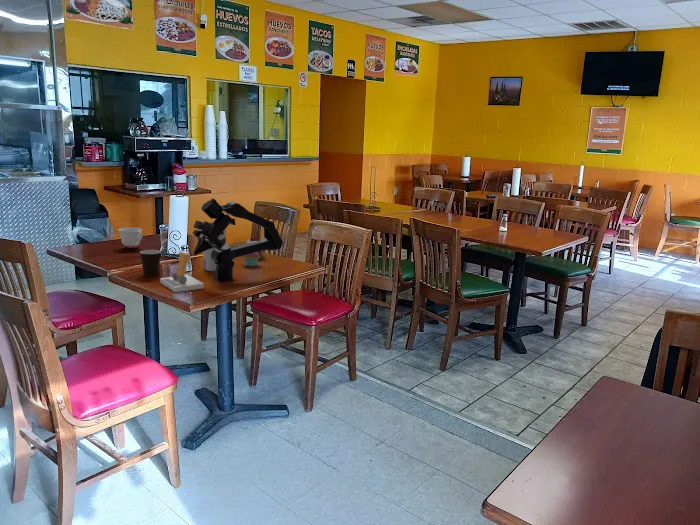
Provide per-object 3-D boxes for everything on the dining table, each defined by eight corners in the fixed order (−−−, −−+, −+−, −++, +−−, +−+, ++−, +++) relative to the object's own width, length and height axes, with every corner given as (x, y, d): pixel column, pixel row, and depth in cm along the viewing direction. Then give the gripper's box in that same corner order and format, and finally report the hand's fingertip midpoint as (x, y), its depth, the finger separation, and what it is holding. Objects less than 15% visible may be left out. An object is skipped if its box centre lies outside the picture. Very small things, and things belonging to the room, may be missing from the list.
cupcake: (261, 266, 266) (261, 242, 264) (243, 267, 263) (243, 242, 260) (257, 262, 274) (257, 238, 271) (240, 263, 271) (240, 239, 268)
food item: (244, 253, 294) (244, 235, 292) (259, 252, 297) (259, 234, 294) (249, 259, 281) (249, 239, 279) (264, 258, 284) (265, 239, 282)
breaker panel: (188, 279, 238) (187, 268, 237) (203, 288, 226) (203, 276, 225) (160, 283, 231) (160, 271, 230) (174, 292, 219) (174, 280, 218)
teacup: (132, 251, 286) (131, 232, 284) (114, 248, 293) (113, 229, 291) (151, 248, 296) (151, 229, 294) (133, 244, 303) (132, 226, 301)
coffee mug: (155, 277, 239) (154, 254, 237) (137, 275, 241) (136, 253, 239) (169, 271, 251) (168, 249, 248) (151, 269, 252) (150, 248, 250)
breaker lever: (179, 277, 230) (185, 252, 229) (184, 280, 226) (190, 255, 225) (174, 277, 228) (179, 251, 228) (178, 279, 225) (184, 254, 224)
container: (218, 272, 252) (218, 228, 248) (199, 269, 255) (198, 226, 251) (230, 267, 261) (229, 225, 257) (211, 265, 265) (211, 223, 260)
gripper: (196, 210, 236) (171, 238, 231) (215, 216, 222) (189, 246, 217) (214, 227, 242) (190, 254, 238) (233, 234, 228) (208, 263, 224)
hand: (194, 254), depth 229 cm, fingers closed
